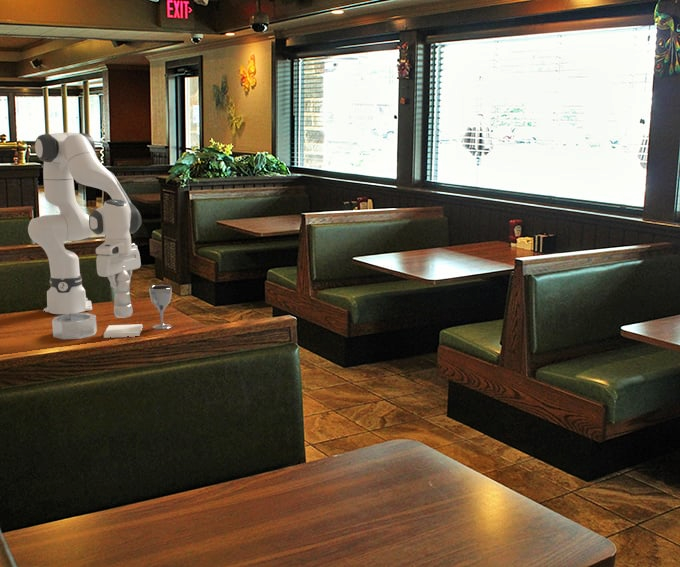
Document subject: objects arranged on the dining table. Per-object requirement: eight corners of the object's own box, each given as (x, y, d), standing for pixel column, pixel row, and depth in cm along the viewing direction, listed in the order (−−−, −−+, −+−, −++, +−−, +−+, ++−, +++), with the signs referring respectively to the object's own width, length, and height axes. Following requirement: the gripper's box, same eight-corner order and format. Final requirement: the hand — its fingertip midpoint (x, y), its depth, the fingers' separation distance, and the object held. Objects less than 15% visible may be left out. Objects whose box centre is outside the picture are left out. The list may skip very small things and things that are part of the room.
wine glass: (154, 330, 287) (152, 290, 284) (148, 325, 294) (146, 286, 291) (175, 327, 290) (174, 287, 287) (169, 323, 297) (168, 284, 294)
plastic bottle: (124, 314, 287) (119, 260, 283) (137, 316, 283) (132, 261, 279) (110, 318, 282) (105, 263, 278) (123, 320, 278) (118, 264, 274)
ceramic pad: (109, 329, 289) (108, 325, 288) (142, 328, 290) (142, 324, 290) (103, 337, 277) (103, 333, 277) (138, 336, 279) (138, 332, 278)
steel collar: (59, 329, 288) (58, 313, 287) (98, 328, 290) (97, 312, 289) (50, 339, 275) (49, 323, 274) (92, 338, 276) (90, 321, 275)
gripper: (129, 242, 288) (131, 279, 291) (92, 249, 270) (94, 289, 272) (143, 242, 286) (145, 280, 288) (107, 250, 267) (109, 290, 270)
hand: (120, 284), depth 280 cm, fingers closed on plastic bottle, 6 cm apart
